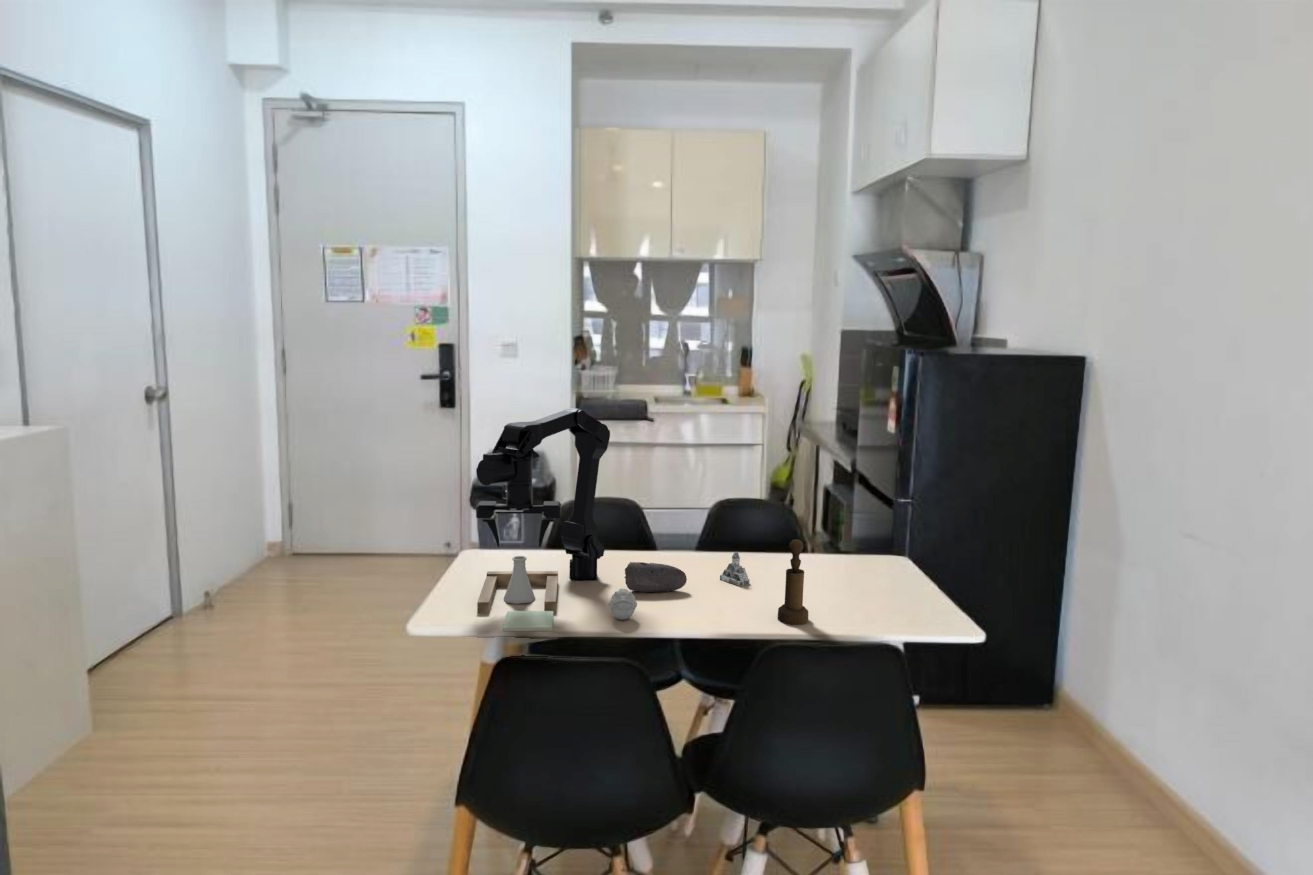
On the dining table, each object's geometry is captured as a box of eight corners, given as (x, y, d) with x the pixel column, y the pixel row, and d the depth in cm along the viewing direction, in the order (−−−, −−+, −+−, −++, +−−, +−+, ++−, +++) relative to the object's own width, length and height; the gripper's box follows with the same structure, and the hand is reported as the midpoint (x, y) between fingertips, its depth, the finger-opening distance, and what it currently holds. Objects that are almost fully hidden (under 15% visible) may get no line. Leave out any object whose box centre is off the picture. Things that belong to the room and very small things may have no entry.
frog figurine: (608, 625, 179) (609, 593, 178) (608, 613, 186) (609, 583, 185) (637, 625, 179) (637, 593, 178) (636, 613, 186) (636, 583, 185)
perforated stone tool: (685, 587, 205) (686, 560, 204) (687, 594, 200) (688, 566, 199) (624, 587, 205) (624, 559, 204) (624, 594, 200) (624, 565, 199)
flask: (505, 594, 197) (504, 553, 196) (536, 594, 198) (536, 553, 197) (502, 605, 190) (501, 562, 189) (534, 604, 191) (534, 561, 189)
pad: (553, 614, 185) (553, 610, 185) (551, 630, 175) (552, 627, 175) (507, 614, 184) (507, 610, 184) (503, 631, 174) (503, 627, 174)
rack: (557, 582, 207) (558, 571, 206) (555, 612, 186) (555, 599, 186) (487, 583, 205) (487, 571, 205) (477, 613, 184) (477, 599, 184)
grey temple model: (768, 582, 212) (769, 553, 210) (743, 589, 206) (744, 558, 205) (744, 573, 219) (745, 545, 218) (718, 579, 213) (719, 550, 212)
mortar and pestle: (810, 617, 187) (814, 537, 184) (805, 626, 181) (809, 545, 178) (780, 613, 189) (784, 534, 186) (774, 622, 183) (778, 541, 180)
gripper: (561, 472, 199) (561, 537, 201) (481, 472, 197) (481, 537, 199) (560, 481, 188) (560, 550, 190) (475, 481, 186) (476, 550, 188)
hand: (519, 546), depth 192 cm, fingers open, 9 cm apart
